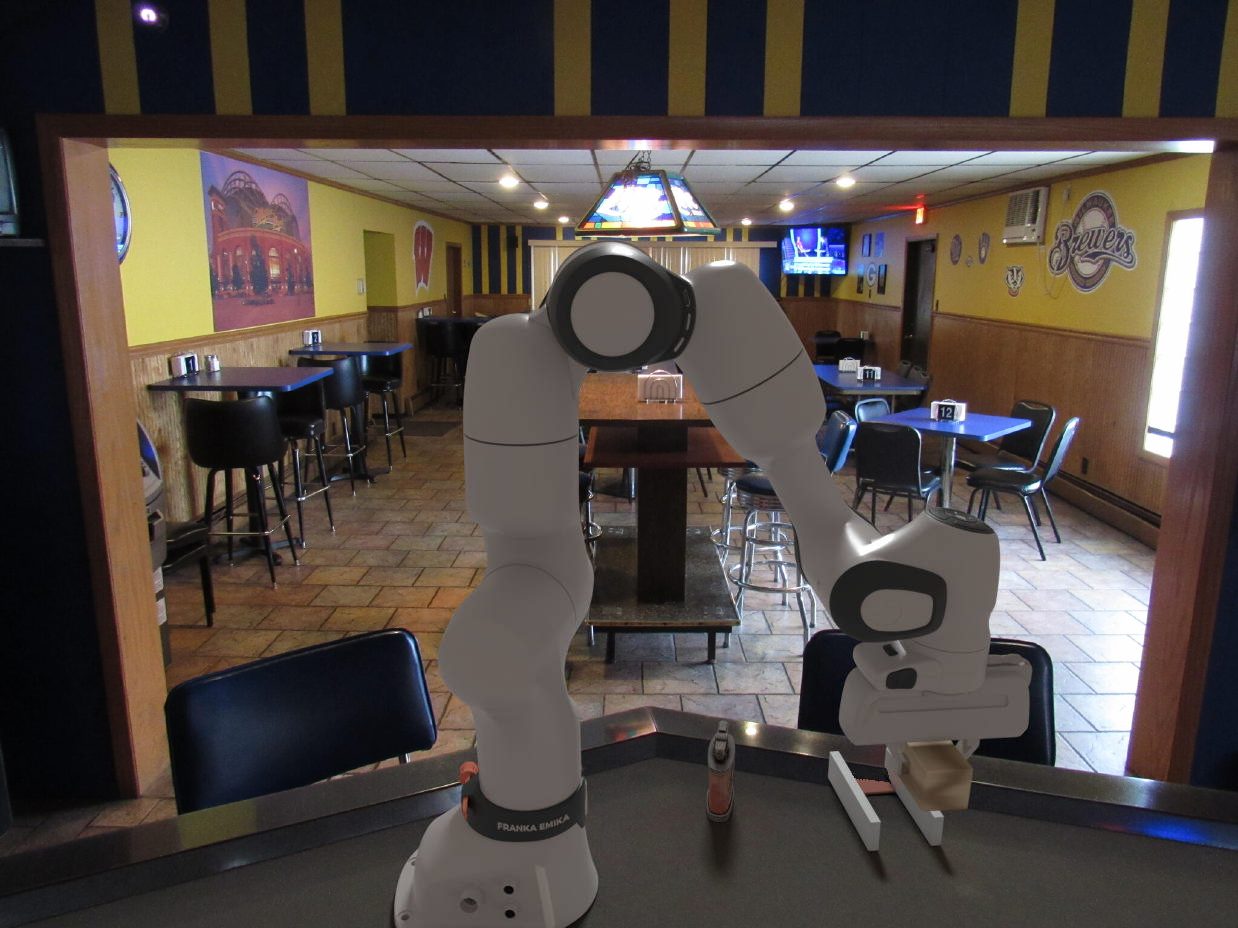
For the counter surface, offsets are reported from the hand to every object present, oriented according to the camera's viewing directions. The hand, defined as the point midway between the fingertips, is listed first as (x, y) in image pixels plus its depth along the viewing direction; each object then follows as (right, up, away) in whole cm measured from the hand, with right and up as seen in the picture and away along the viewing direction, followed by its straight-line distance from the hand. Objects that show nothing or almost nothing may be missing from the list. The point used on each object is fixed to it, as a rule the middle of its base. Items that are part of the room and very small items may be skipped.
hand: (926, 769), depth 93 cm
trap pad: (-1, -9, +19) cm, 21 cm away
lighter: (-21, -10, +16) cm, 28 cm away
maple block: (0, -2, -1) cm, 2 cm away
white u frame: (-1, -10, +14) cm, 17 cm away
